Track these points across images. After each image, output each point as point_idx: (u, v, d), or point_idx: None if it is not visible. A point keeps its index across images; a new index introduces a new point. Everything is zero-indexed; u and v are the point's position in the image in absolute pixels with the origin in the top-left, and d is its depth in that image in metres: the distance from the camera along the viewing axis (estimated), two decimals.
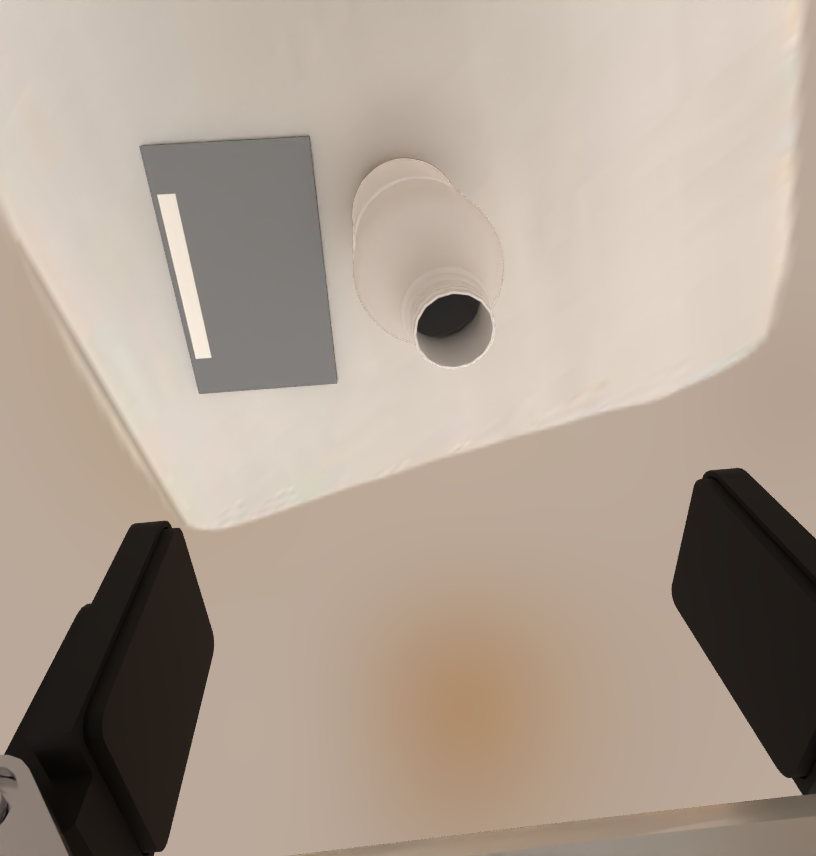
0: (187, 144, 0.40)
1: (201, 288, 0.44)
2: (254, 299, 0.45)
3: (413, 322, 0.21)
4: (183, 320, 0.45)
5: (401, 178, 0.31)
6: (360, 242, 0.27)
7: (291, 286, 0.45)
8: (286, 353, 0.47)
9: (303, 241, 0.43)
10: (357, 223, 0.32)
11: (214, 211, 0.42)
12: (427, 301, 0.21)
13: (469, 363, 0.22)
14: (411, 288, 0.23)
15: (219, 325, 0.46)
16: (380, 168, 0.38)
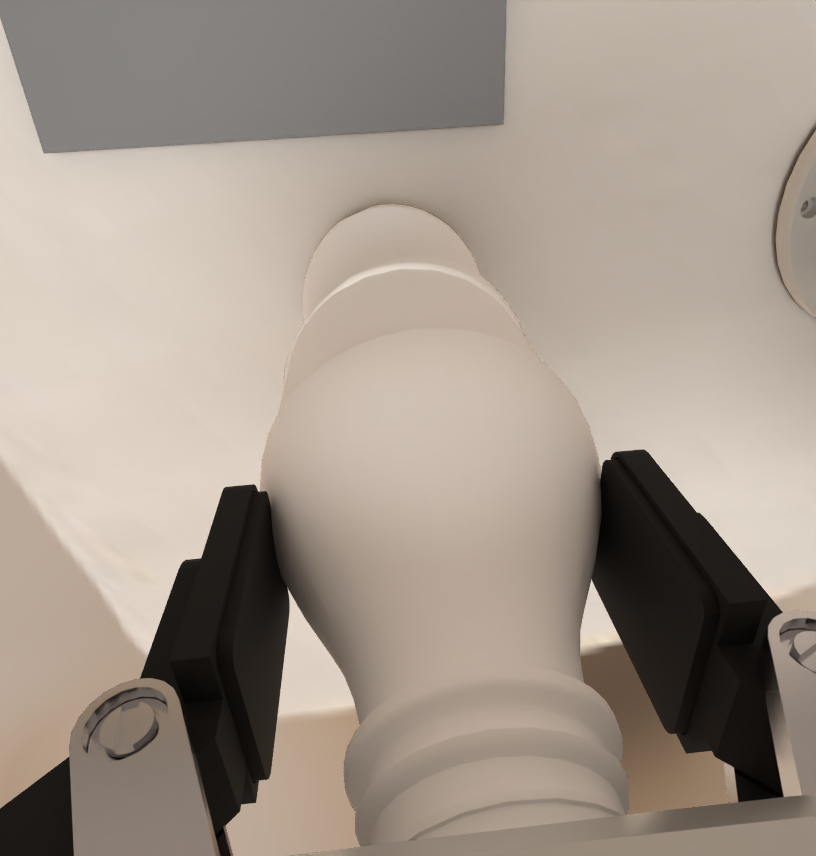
0: None
1: None
2: None
3: None
4: None
5: None
6: (513, 360, 0.11)
7: (243, 65, 0.23)
8: (90, 37, 0.22)
9: (332, 99, 0.23)
10: (456, 273, 0.16)
11: None
12: None
13: None
14: (577, 703, 0.07)
15: None
16: (473, 261, 0.23)
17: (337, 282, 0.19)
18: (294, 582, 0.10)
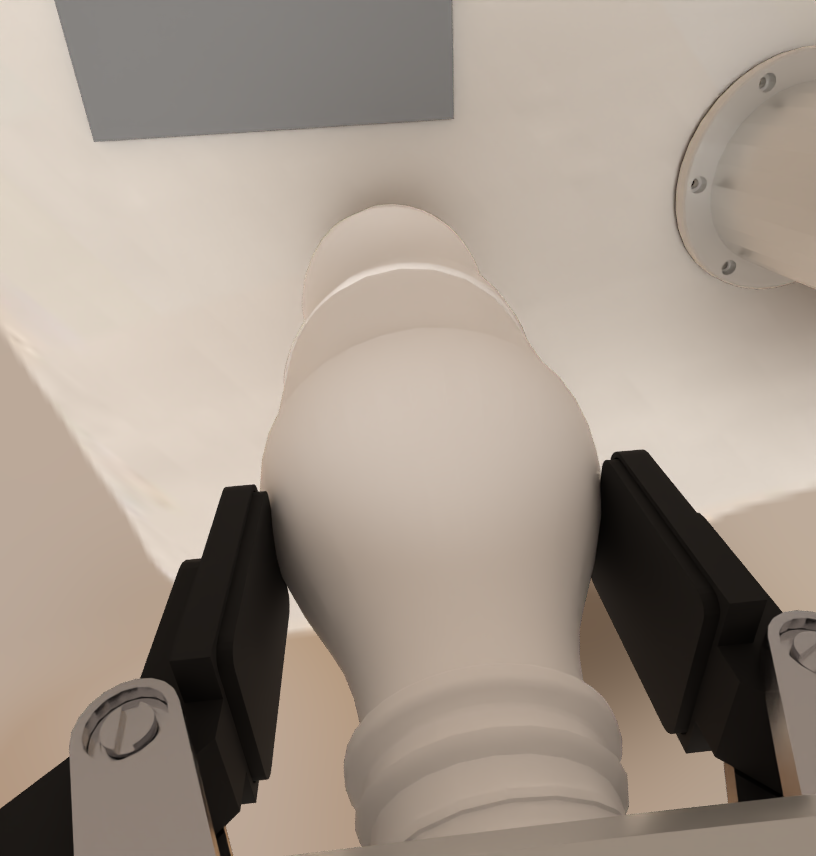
0: None
1: None
2: (222, 1, 0.28)
3: None
4: None
5: None
6: (513, 359, 0.11)
7: (250, 73, 0.29)
8: (133, 52, 0.28)
9: (319, 99, 0.30)
10: (455, 273, 0.16)
11: None
12: None
13: None
14: (576, 701, 0.07)
15: None
16: (473, 261, 0.23)
17: (337, 282, 0.19)
18: (294, 581, 0.10)
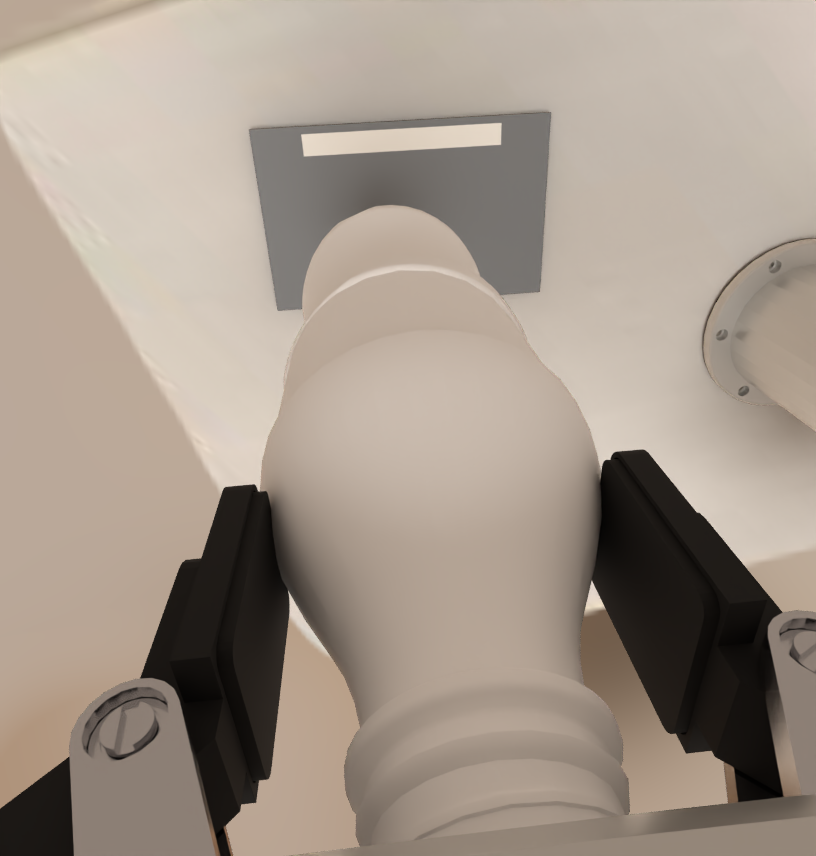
0: (546, 167, 0.38)
1: (394, 157, 0.37)
2: None
3: None
4: (353, 126, 0.36)
5: None
6: (513, 361, 0.11)
7: None
8: (313, 253, 0.39)
9: None
10: (456, 275, 0.16)
11: (479, 187, 0.38)
12: None
13: None
14: (577, 705, 0.07)
15: (347, 173, 0.37)
16: (473, 262, 0.23)
17: (337, 283, 0.19)
18: (294, 584, 0.10)
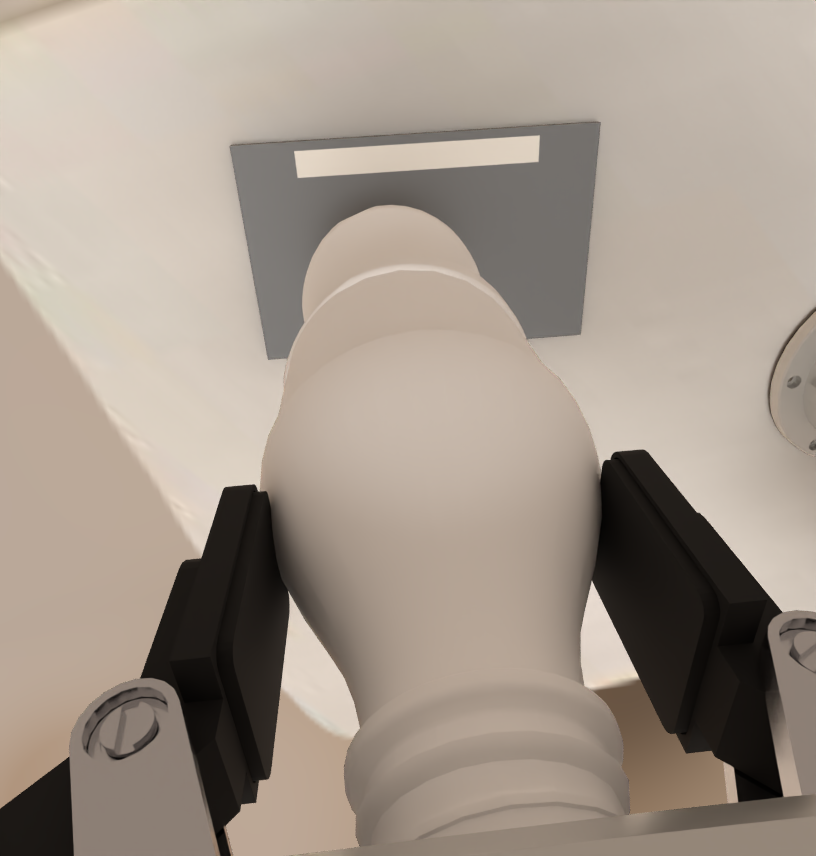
0: (592, 188, 0.31)
1: (408, 178, 0.30)
2: None
3: None
4: (358, 141, 0.29)
5: None
6: (513, 361, 0.11)
7: None
8: None
9: None
10: (456, 275, 0.16)
11: (511, 213, 0.31)
12: None
13: None
14: (577, 706, 0.07)
15: (351, 198, 0.30)
16: (473, 262, 0.23)
17: (337, 283, 0.19)
18: (294, 584, 0.10)
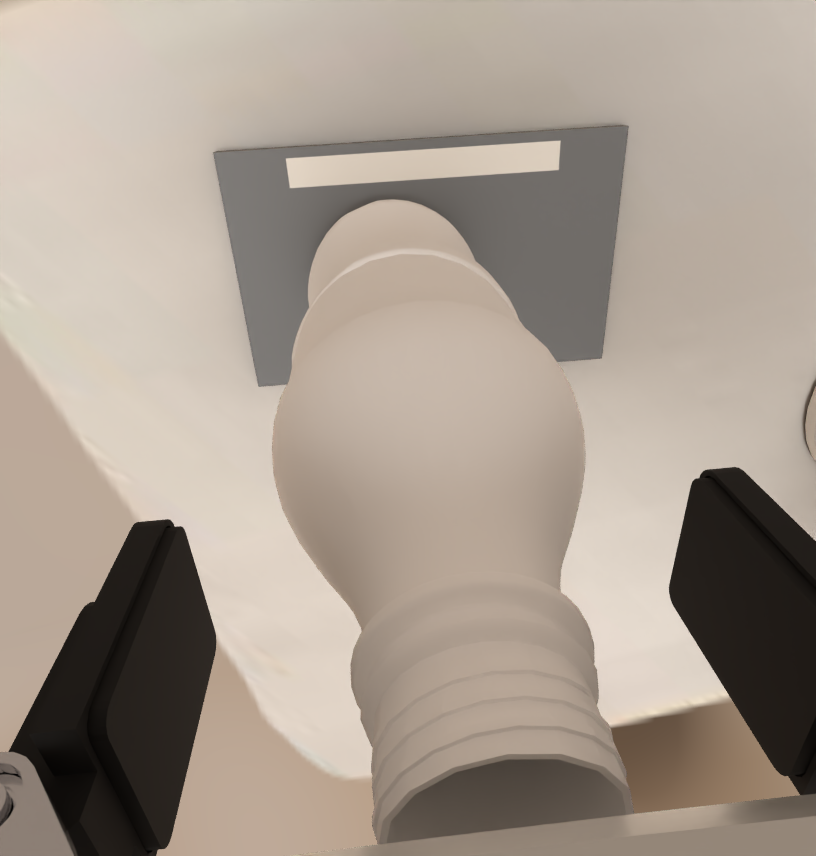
0: (618, 199, 0.28)
1: (413, 188, 0.27)
2: None
3: (538, 729, 0.06)
4: (357, 147, 0.26)
5: None
6: (504, 328, 0.12)
7: None
8: None
9: None
10: (453, 259, 0.17)
11: (527, 226, 0.28)
12: (608, 761, 0.07)
13: None
14: (552, 605, 0.08)
15: (350, 210, 0.27)
16: (471, 253, 0.25)
17: (342, 269, 0.20)
18: (304, 526, 0.12)
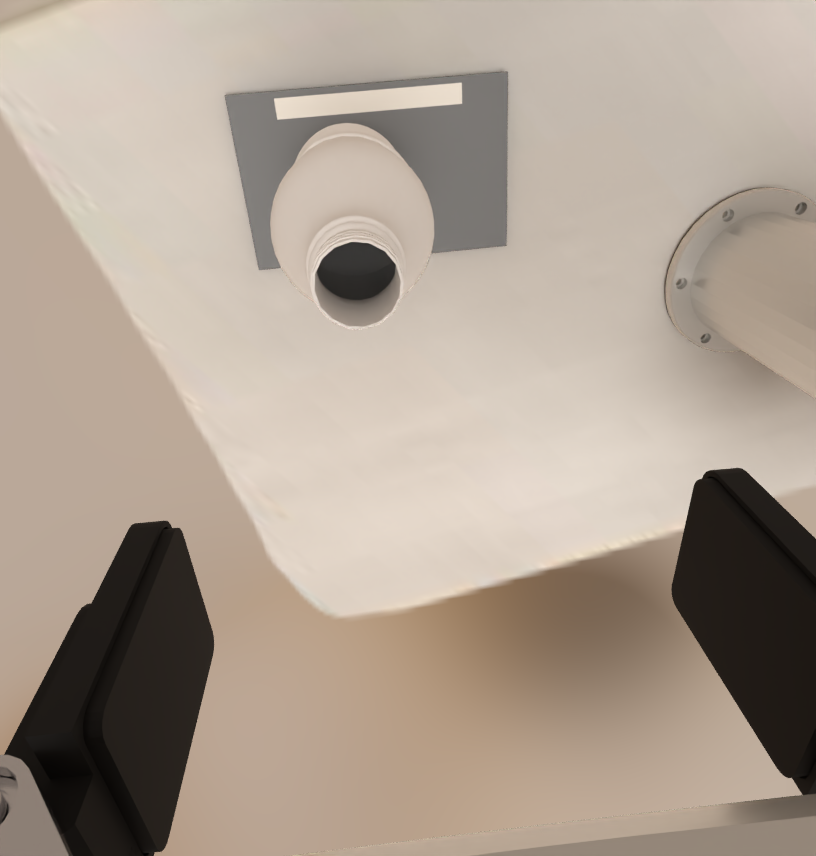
0: (506, 124, 0.40)
1: (362, 118, 0.39)
2: None
3: (363, 237, 0.19)
4: (322, 89, 0.38)
5: None
6: (384, 151, 0.25)
7: None
8: None
9: None
10: (372, 139, 0.29)
11: (444, 145, 0.40)
12: (389, 252, 0.19)
13: (319, 306, 0.19)
14: (382, 227, 0.20)
15: None
16: None
17: None
18: (287, 245, 0.24)
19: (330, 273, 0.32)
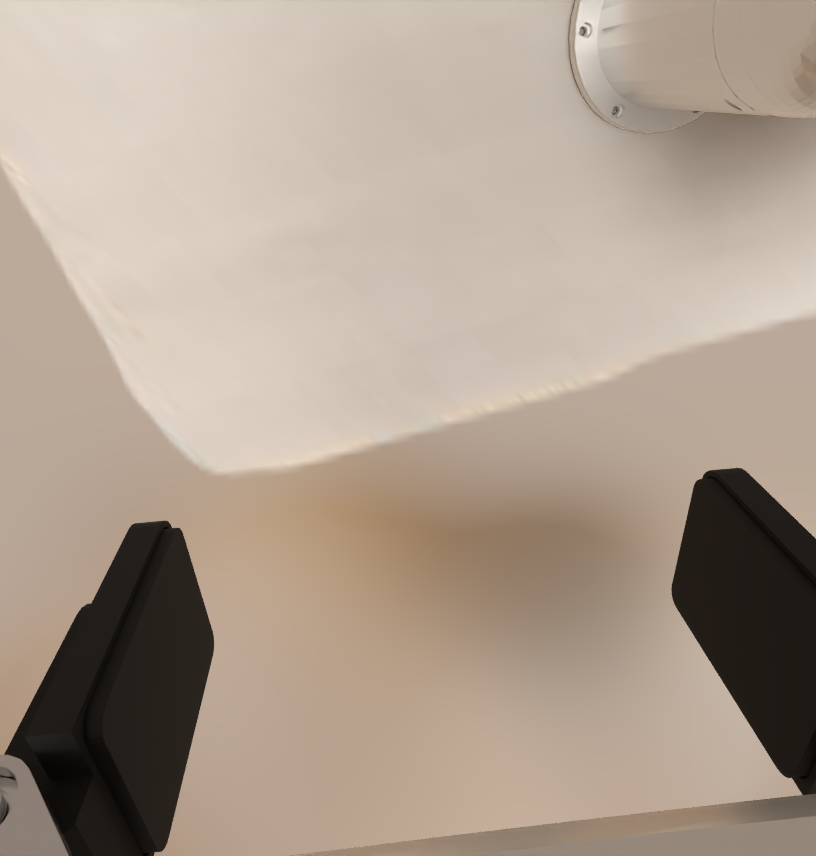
0: None
1: None
2: None
3: None
4: None
5: None
6: None
7: None
8: None
9: None
10: None
11: None
12: None
13: None
14: None
15: None
16: None
17: None
18: None
19: None
